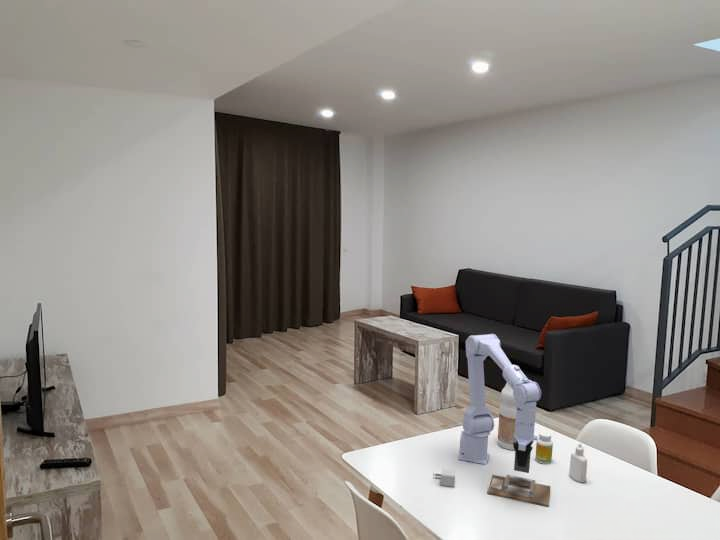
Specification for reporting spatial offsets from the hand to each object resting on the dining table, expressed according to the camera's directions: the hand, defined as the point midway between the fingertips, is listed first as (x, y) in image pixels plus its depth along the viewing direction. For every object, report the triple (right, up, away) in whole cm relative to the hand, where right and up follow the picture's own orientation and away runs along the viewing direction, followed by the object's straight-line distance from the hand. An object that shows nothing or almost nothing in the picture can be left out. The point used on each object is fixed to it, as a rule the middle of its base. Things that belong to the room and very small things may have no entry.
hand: (522, 463), depth 170 cm
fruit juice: (+6, -5, +34) cm, 34 cm away
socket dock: (-1, -9, +1) cm, 9 cm away
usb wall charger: (-24, -8, +4) cm, 25 cm away
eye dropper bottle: (+21, -9, +10) cm, 25 cm away
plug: (0, -2, 0) cm, 2 cm away
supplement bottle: (+14, -7, +22) cm, 27 cm away
